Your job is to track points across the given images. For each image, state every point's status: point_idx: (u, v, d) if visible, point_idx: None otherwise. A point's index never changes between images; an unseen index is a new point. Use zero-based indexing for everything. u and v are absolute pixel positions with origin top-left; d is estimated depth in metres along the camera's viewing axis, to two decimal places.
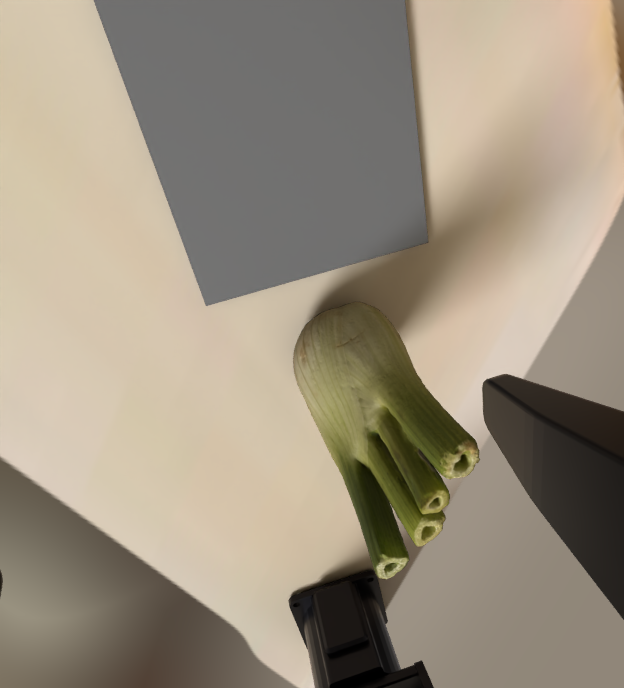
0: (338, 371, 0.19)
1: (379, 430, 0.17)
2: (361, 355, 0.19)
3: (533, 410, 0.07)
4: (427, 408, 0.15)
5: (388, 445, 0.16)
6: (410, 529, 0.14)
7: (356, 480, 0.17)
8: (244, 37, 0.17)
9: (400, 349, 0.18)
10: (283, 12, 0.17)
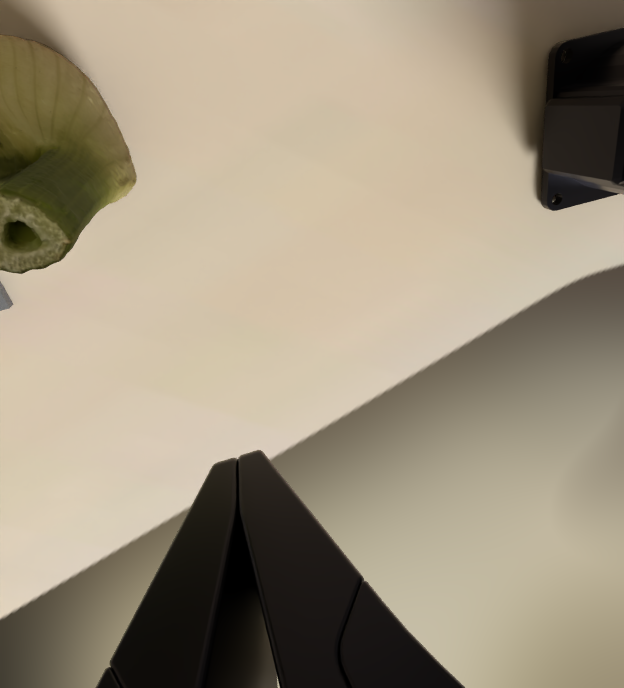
0: None
1: None
2: None
3: (239, 503, 0.06)
4: None
5: None
6: None
7: None
8: None
9: None
10: None
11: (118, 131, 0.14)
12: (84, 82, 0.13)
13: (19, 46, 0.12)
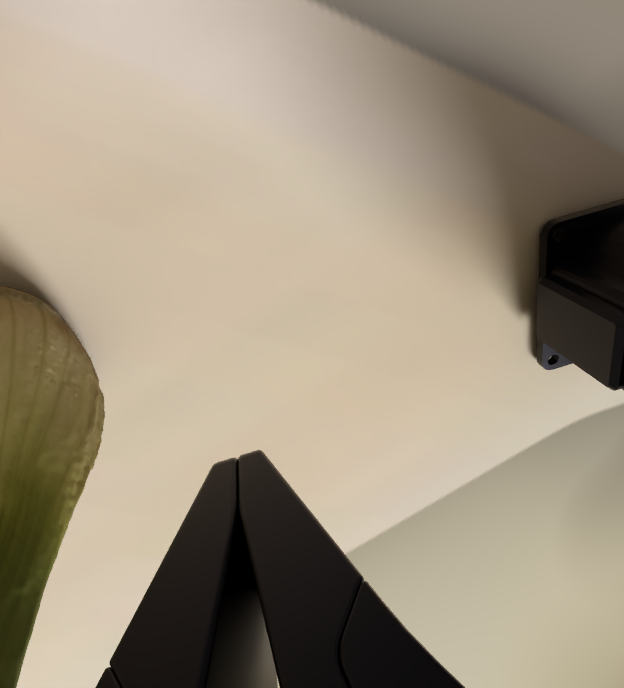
0: None
1: None
2: None
3: (239, 503, 0.06)
4: None
5: None
6: None
7: None
8: None
9: None
10: None
11: (84, 371, 0.14)
12: (44, 343, 0.13)
13: None
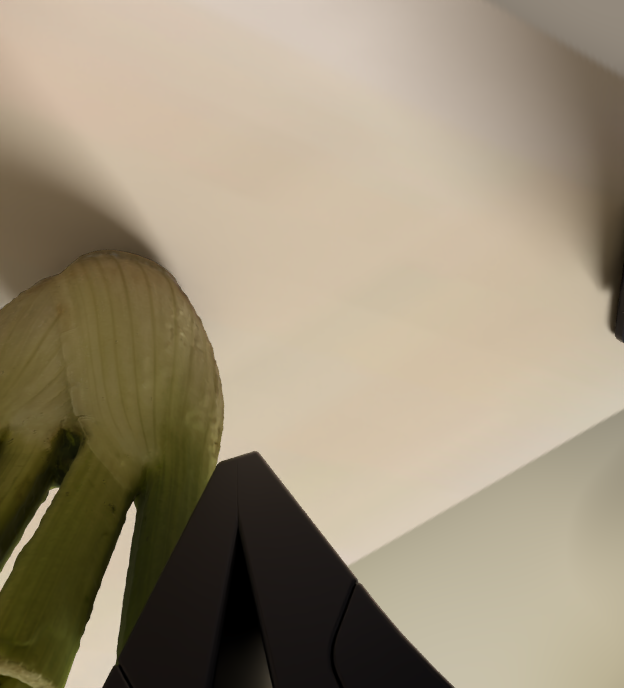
0: None
1: None
2: None
3: (235, 505, 0.06)
4: None
5: None
6: None
7: None
8: None
9: None
10: None
11: (204, 338, 0.14)
12: (174, 308, 0.13)
13: (115, 294, 0.12)
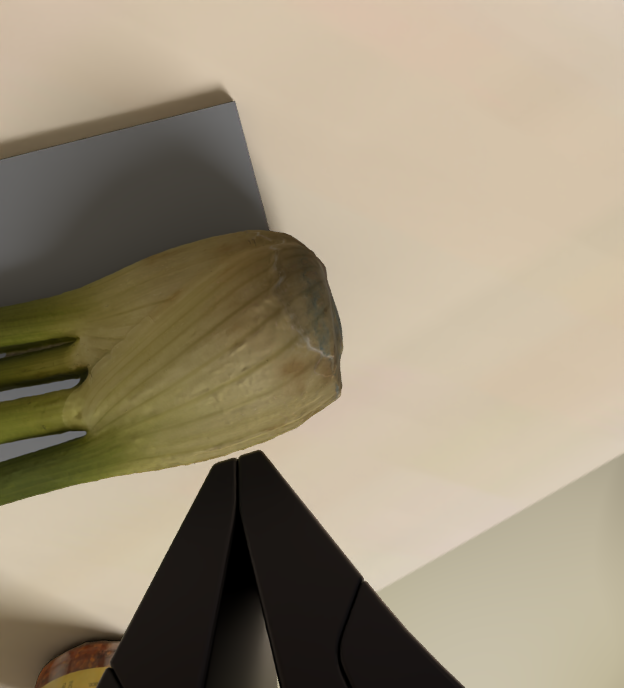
0: None
1: None
2: None
3: (239, 503, 0.06)
4: None
5: None
6: None
7: None
8: None
9: None
10: None
11: (274, 410, 0.13)
12: (238, 378, 0.12)
13: (197, 327, 0.12)
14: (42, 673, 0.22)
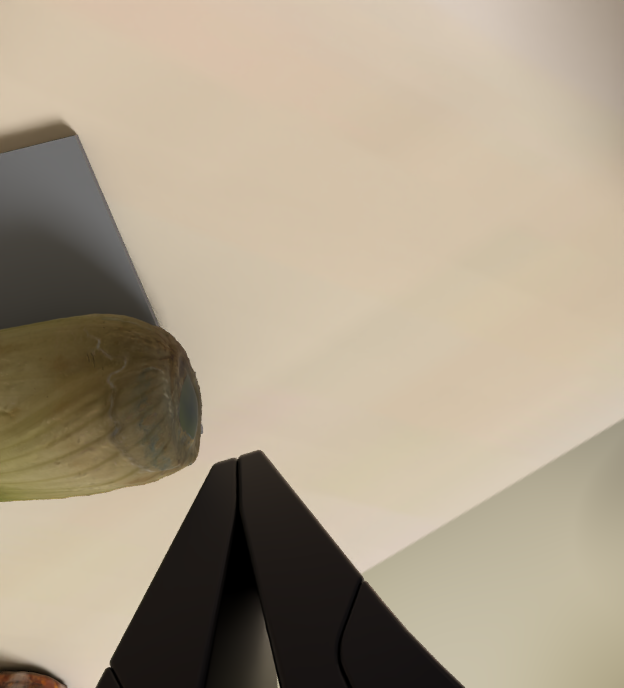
0: None
1: None
2: None
3: (239, 503, 0.06)
4: None
5: None
6: None
7: None
8: None
9: None
10: None
11: None
12: (88, 486, 0.13)
13: (39, 454, 0.12)
14: None
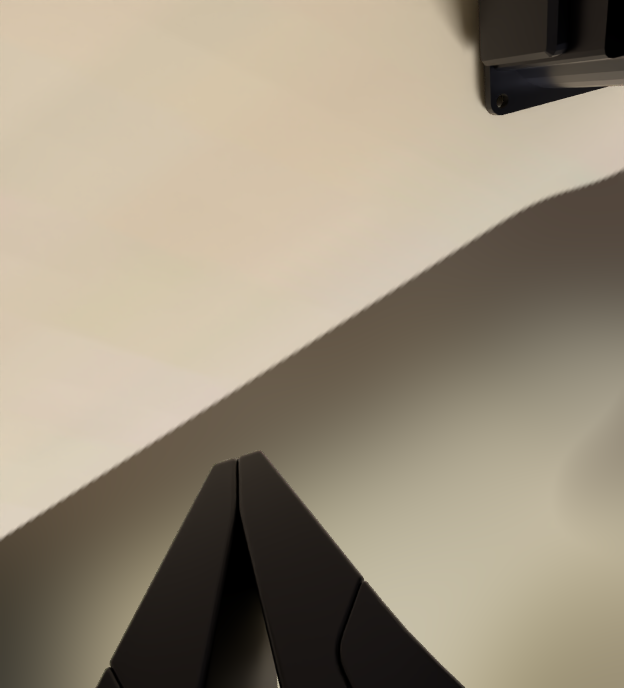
0: None
1: None
2: None
3: (239, 503, 0.06)
4: None
5: None
6: None
7: None
8: None
9: None
10: None
11: None
12: None
13: None
14: None
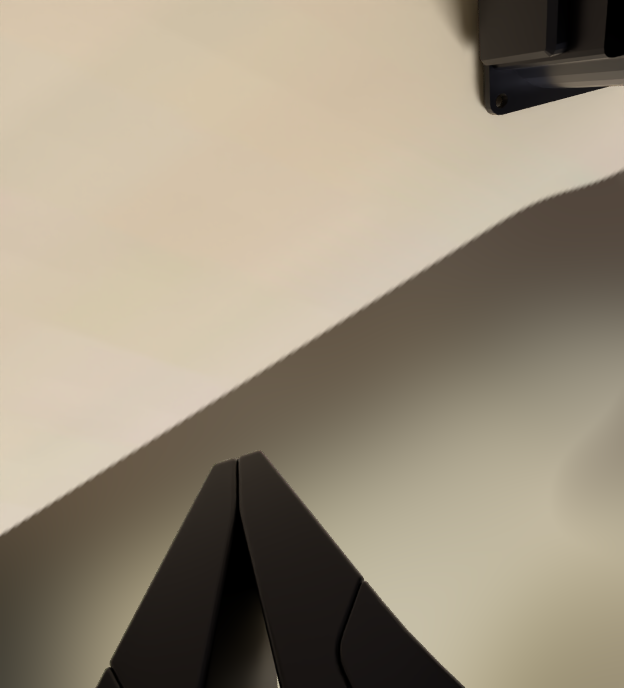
0: None
1: None
2: None
3: (239, 503, 0.06)
4: None
5: None
6: None
7: None
8: None
9: None
10: None
11: None
12: None
13: None
14: None
